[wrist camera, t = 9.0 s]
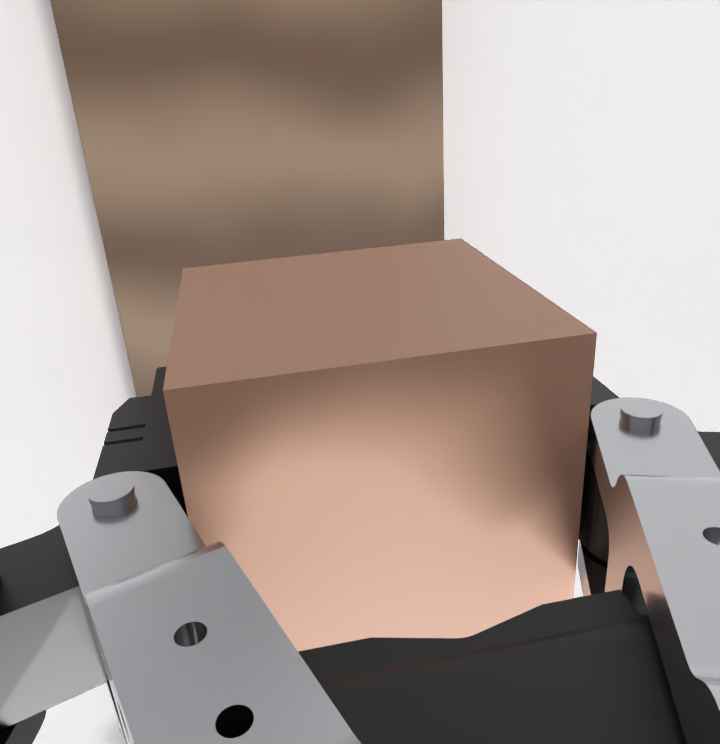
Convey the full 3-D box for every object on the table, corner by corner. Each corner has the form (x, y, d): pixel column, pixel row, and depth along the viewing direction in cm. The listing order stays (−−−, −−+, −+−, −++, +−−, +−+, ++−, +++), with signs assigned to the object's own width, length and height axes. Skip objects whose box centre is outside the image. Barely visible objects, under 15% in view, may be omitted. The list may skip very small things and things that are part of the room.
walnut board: (46, -79, 21) (30, -93, 19) (423, -92, 23) (440, -106, 21) (162, 472, 29) (159, 498, 28) (432, 431, 31) (446, 454, 29)
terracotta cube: (182, 268, 12) (162, 389, 7) (460, 238, 13) (596, 332, 8) (224, 507, 14) (227, 717, 9) (460, 470, 15) (568, 647, 10)
